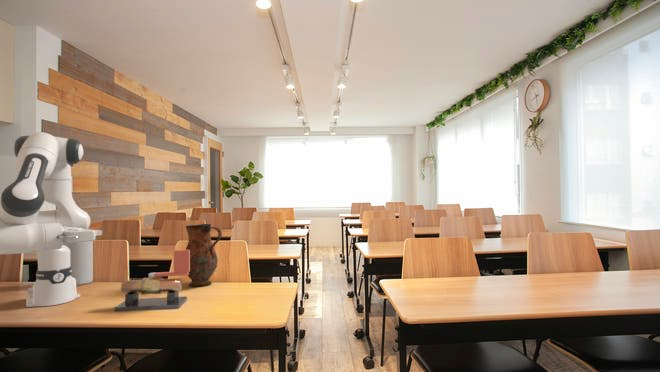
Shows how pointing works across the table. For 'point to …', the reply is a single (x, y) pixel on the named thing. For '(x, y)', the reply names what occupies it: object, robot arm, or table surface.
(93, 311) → the table surface
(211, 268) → the pitcher
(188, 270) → the valve lever
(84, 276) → the cylinder vase
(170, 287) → the valve
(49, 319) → the table surface
